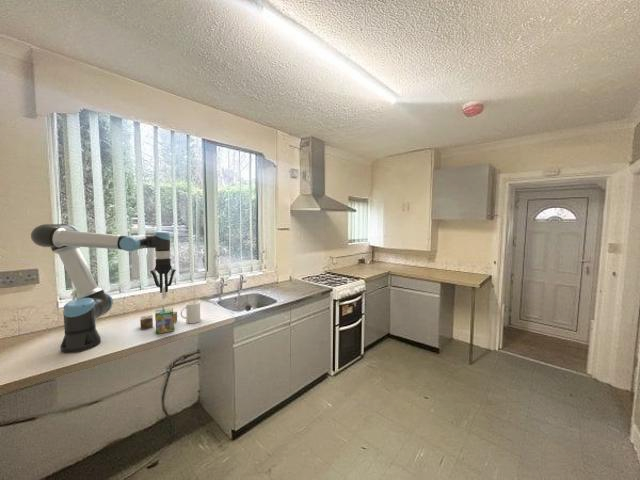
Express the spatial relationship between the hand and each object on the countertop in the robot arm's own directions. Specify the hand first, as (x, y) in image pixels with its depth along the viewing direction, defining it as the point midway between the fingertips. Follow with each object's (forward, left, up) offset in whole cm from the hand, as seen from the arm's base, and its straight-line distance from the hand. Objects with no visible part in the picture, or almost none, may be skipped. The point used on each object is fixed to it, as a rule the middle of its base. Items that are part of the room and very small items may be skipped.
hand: (164, 297), depth 153 cm
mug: (+13, +9, -20) cm, 25 cm away
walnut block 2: (+1, +12, -19) cm, 23 cm away
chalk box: (0, 0, -20) cm, 20 cm away
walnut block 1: (-11, +9, -19) cm, 24 cm away
